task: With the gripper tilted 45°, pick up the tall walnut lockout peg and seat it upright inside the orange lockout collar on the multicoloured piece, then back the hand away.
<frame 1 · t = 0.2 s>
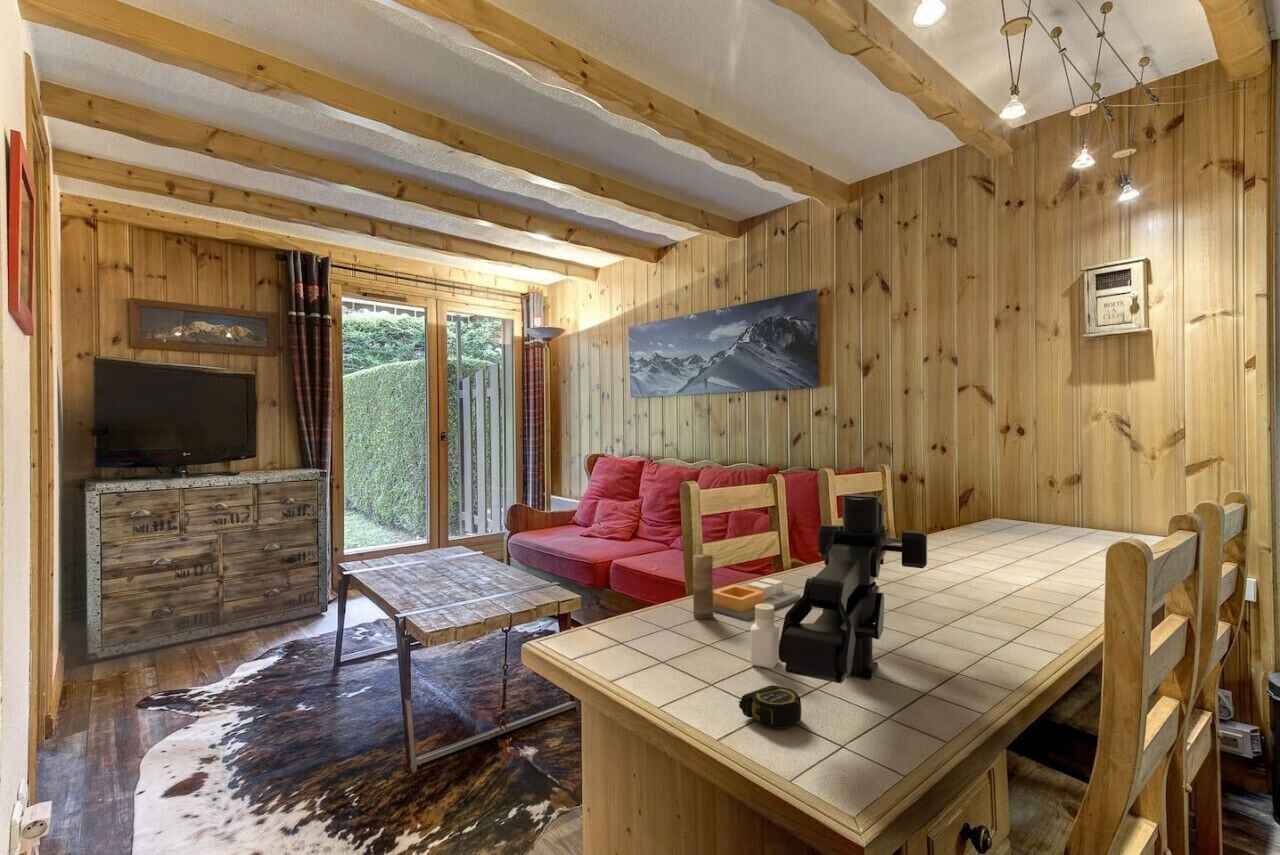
hand: (877, 538, 117), 17 cm above the table, fingers open, 9 cm apart
lockout peg: (703, 616, 122), on the table
tape measure: (769, 721, 80), on the table
pepper shaker: (765, 664, 98), on the table
multicoloured piece: (751, 603, 130), on the table
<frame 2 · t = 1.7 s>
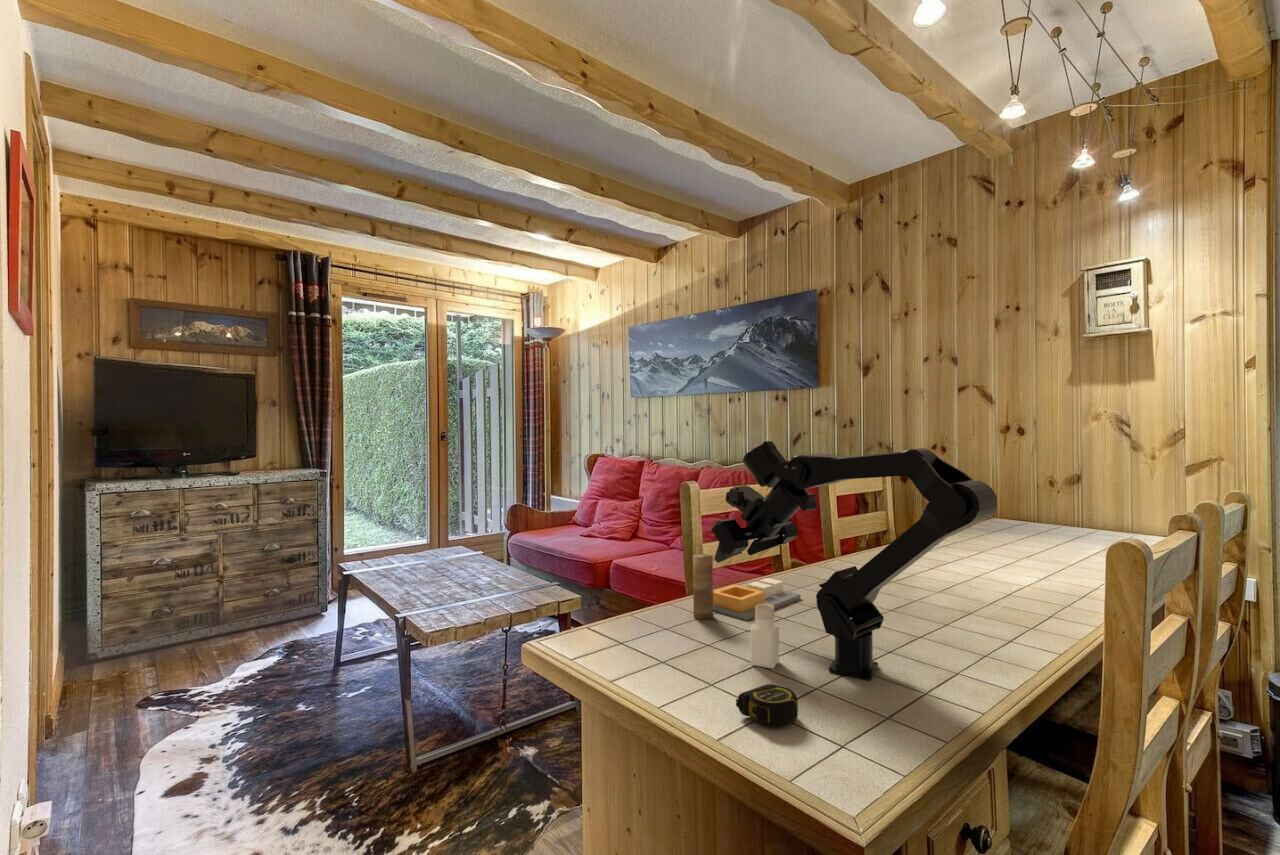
hand: (732, 556, 115), 14 cm above the table, fingers open, 9 cm apart
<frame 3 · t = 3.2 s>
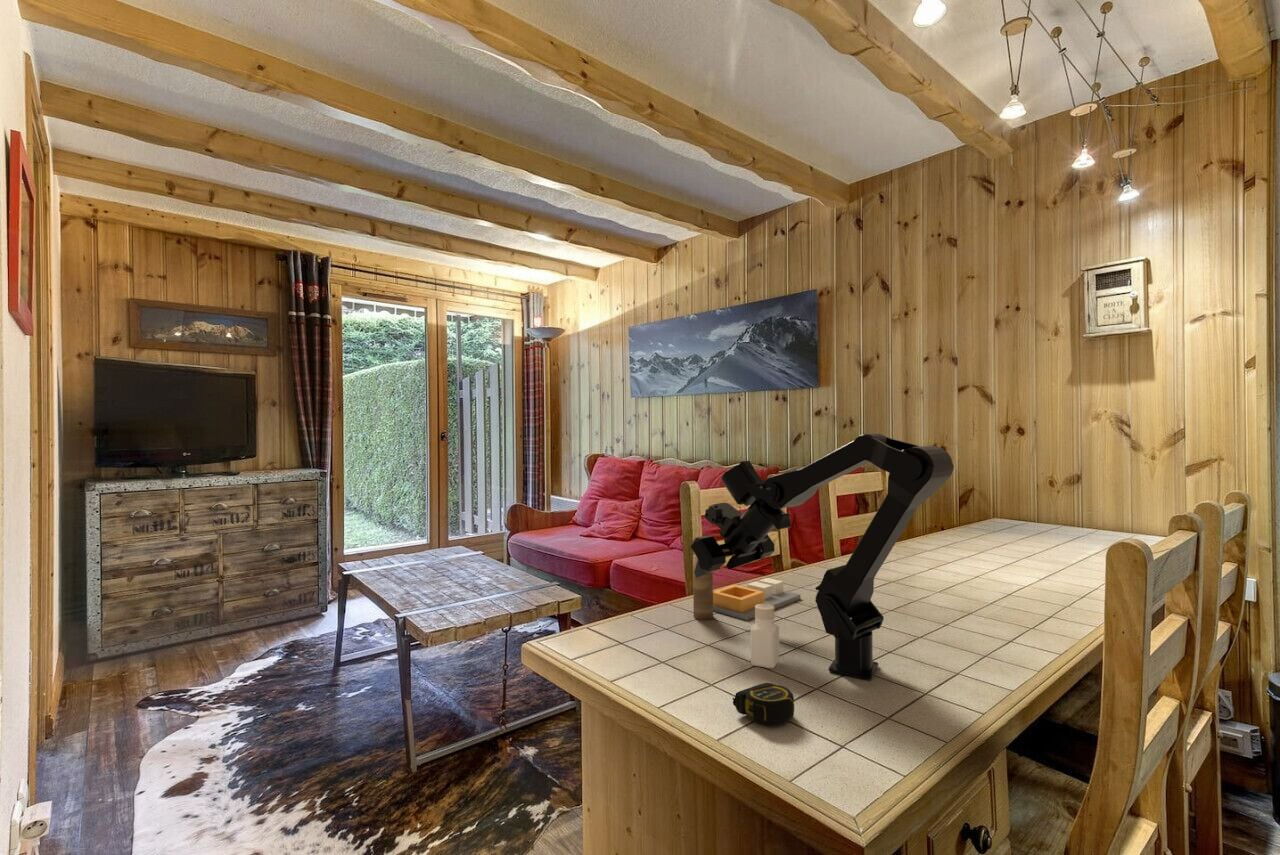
hand: (712, 571, 119), 10 cm above the table, fingers open, 9 cm apart
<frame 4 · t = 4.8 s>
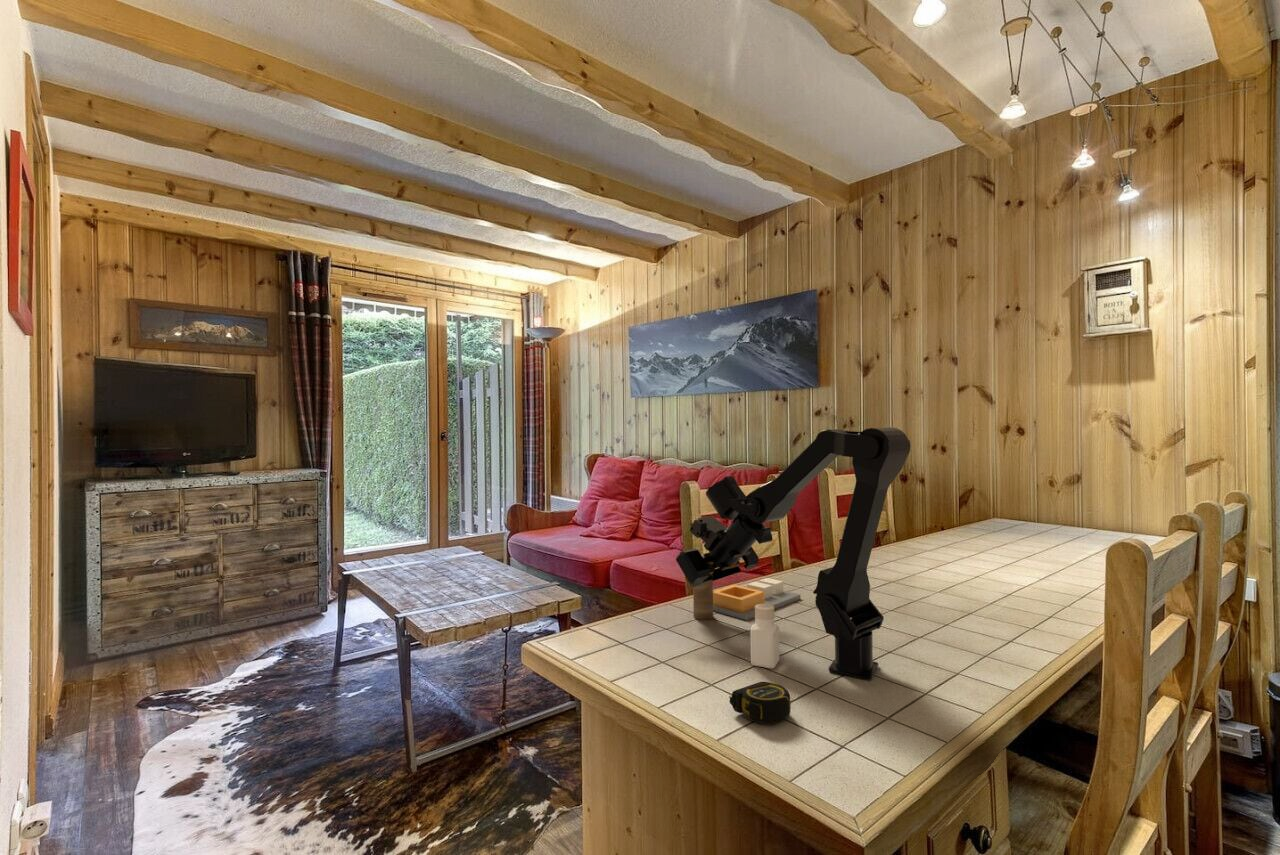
hand: (698, 583, 123), 7 cm above the table, fingers closed on lockout peg, 4 cm apart
lockout peg: (703, 616, 122), on the table, touching gripper
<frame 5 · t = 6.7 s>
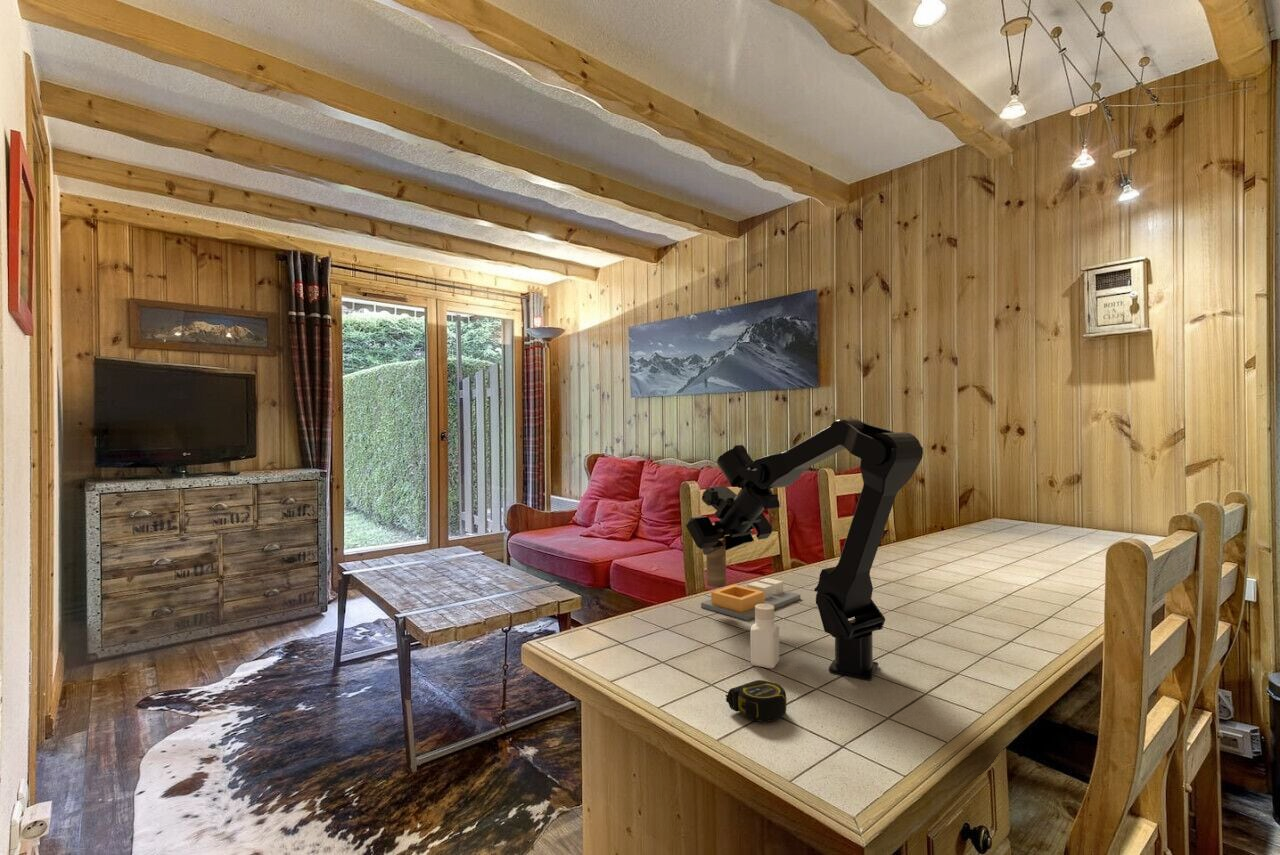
hand: (712, 551, 125), 13 cm above the table, fingers closed on lockout peg, 4 cm apart
lockout peg: (716, 584, 124), point 6 cm above the table, touching gripper
when the fingers open (9 cm above the table, at t = 8.4 s): lockout peg stays where it is, resting on multicoloured piece.
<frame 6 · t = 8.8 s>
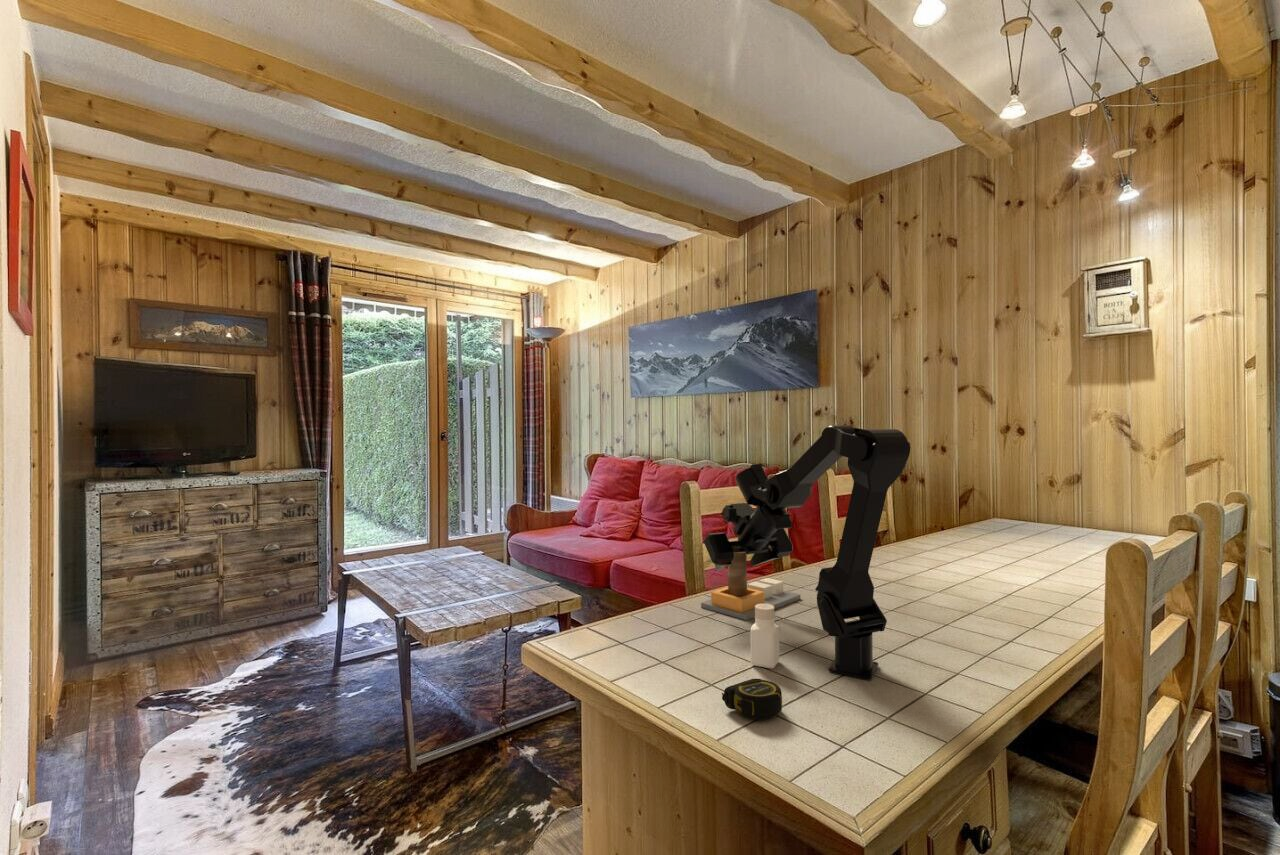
hand: (734, 566, 128), 9 cm above the table, fingers open, 8 cm apart
lockout peg: (737, 603, 127), point 1 cm above the table, touching multicoloured piece
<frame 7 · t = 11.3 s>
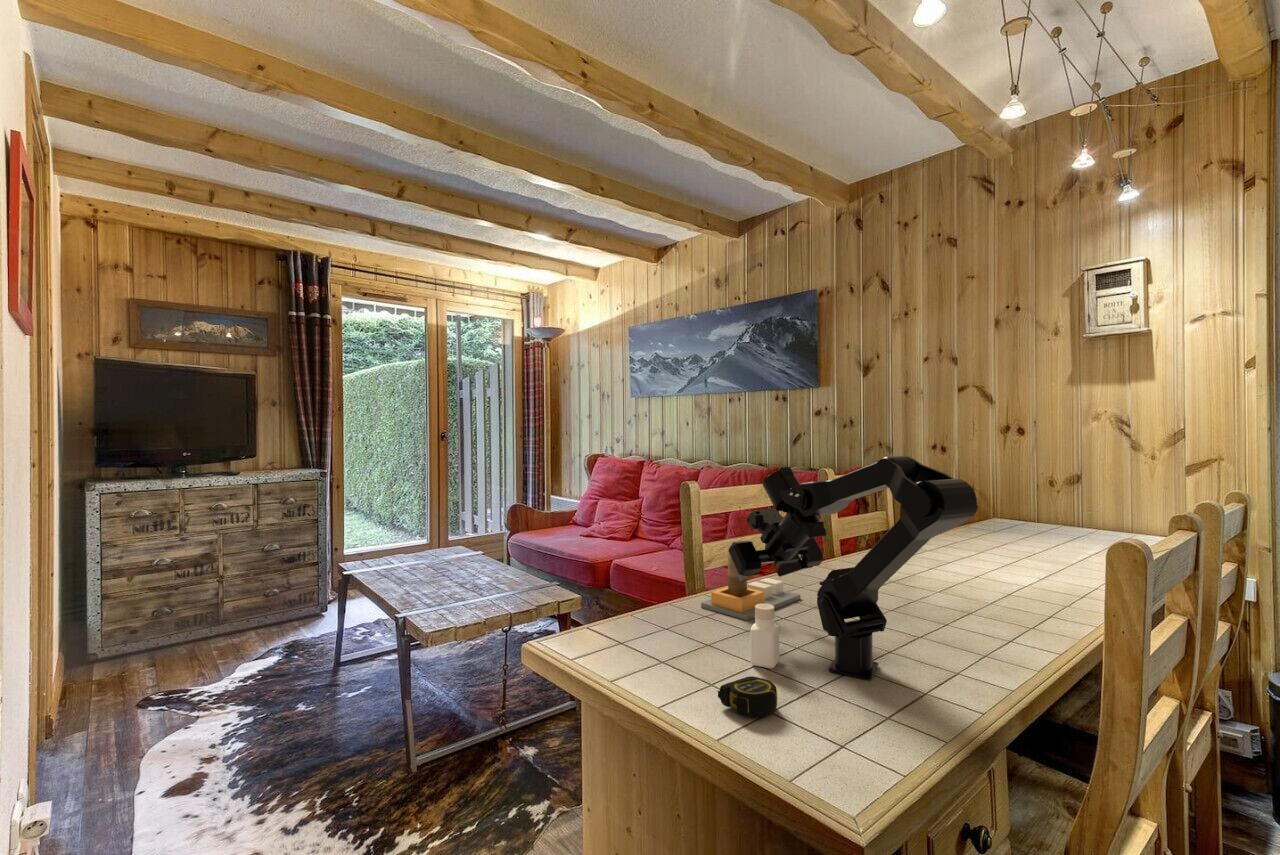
hand: (759, 577, 119), 9 cm above the table, fingers open, 9 cm apart
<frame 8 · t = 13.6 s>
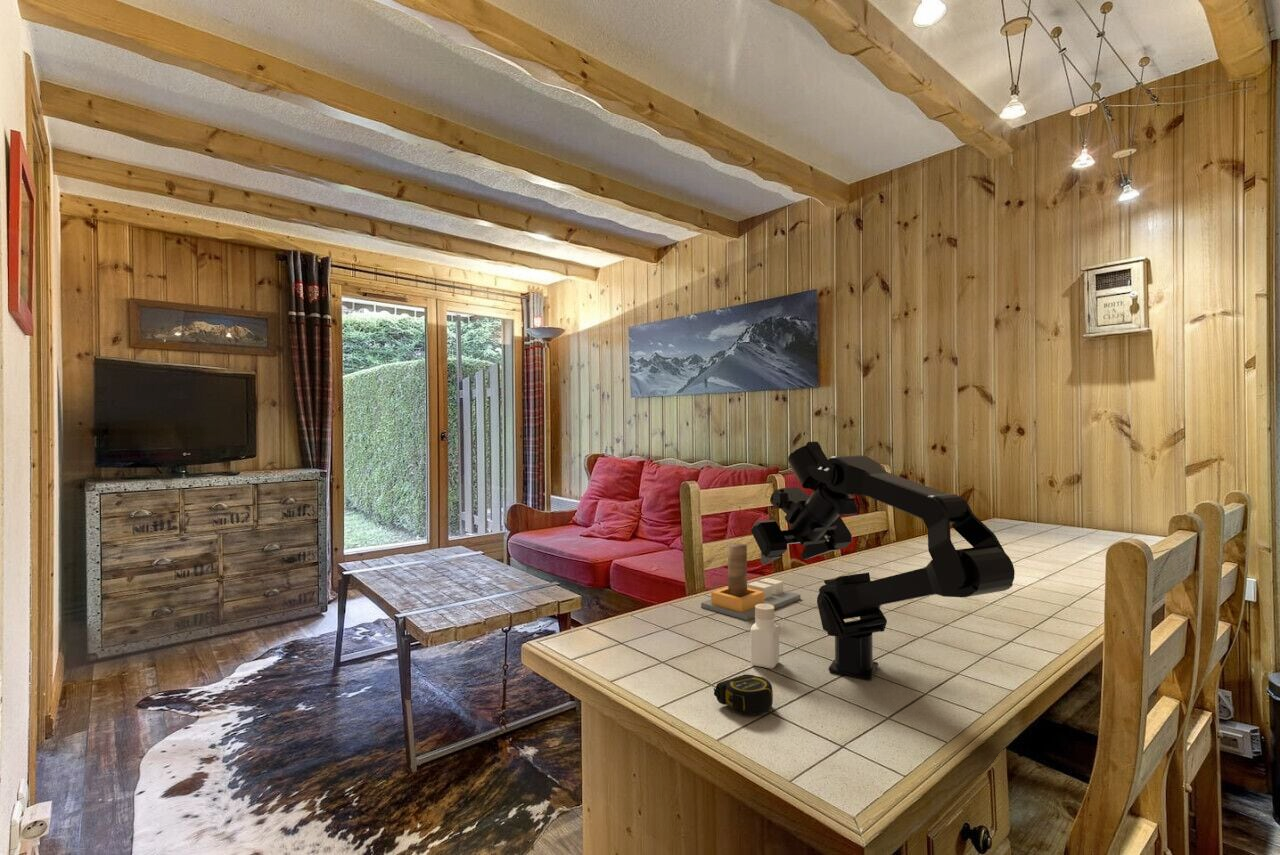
hand: (782, 560, 112), 14 cm above the table, fingers open, 9 cm apart
at the end: lockout peg 0.1 cm from the target spot on the multicoloured piece, point 1.0 cm above the multicoloured piece's base; lockout peg tilted 0°; the gripper is holding nothing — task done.
